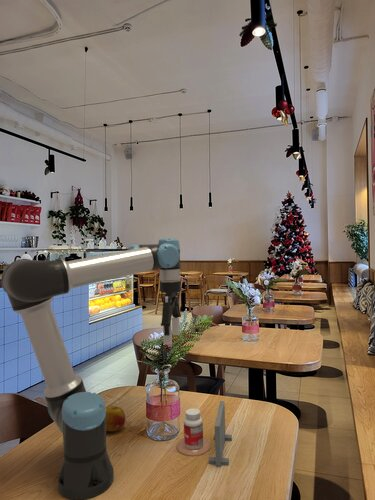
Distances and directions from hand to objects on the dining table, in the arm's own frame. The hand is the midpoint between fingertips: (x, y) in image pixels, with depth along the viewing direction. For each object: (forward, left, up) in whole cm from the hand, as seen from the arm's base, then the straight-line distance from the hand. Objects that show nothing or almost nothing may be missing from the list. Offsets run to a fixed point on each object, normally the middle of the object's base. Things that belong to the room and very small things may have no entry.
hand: (172, 339), depth 137 cm
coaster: (-13, -9, -32) cm, 35 cm away
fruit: (-5, +22, -32) cm, 39 cm away
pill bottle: (-13, -9, -31) cm, 35 cm away
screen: (-14, -18, -32) cm, 39 cm away
